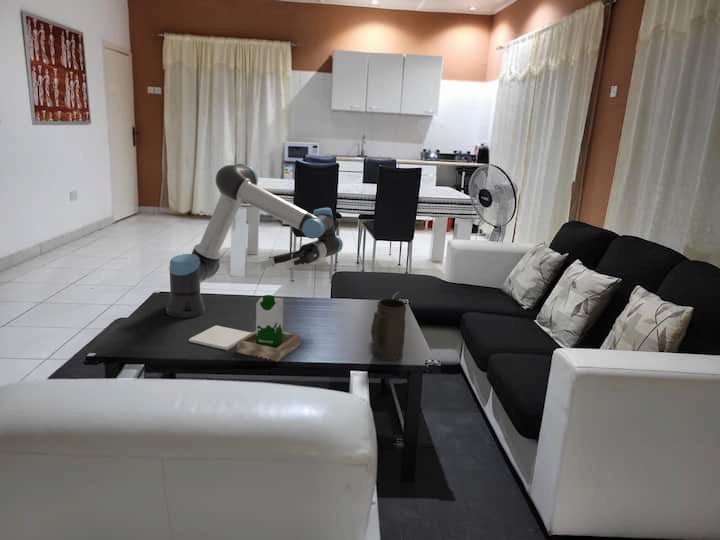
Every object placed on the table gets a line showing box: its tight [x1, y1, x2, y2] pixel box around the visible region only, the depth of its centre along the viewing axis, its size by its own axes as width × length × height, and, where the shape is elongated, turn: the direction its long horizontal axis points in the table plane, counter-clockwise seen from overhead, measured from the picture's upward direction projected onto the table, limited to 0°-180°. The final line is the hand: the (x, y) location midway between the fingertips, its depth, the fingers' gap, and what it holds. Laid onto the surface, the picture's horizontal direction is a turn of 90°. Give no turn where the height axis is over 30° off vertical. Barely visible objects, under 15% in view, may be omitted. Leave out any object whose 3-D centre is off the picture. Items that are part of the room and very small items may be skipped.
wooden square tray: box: [236, 330, 301, 362], centre depth 185 cm, size 16×16×4 cm
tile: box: [188, 324, 252, 351], centre depth 192 cm, size 16×16×1 cm
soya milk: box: [255, 294, 284, 348], centre depth 183 cm, size 9×9×20 cm
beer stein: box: [370, 298, 407, 361], centre depth 183 cm, size 15×11×20 cm
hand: (273, 265), depth 189 cm, fingers open, 13 cm apart
